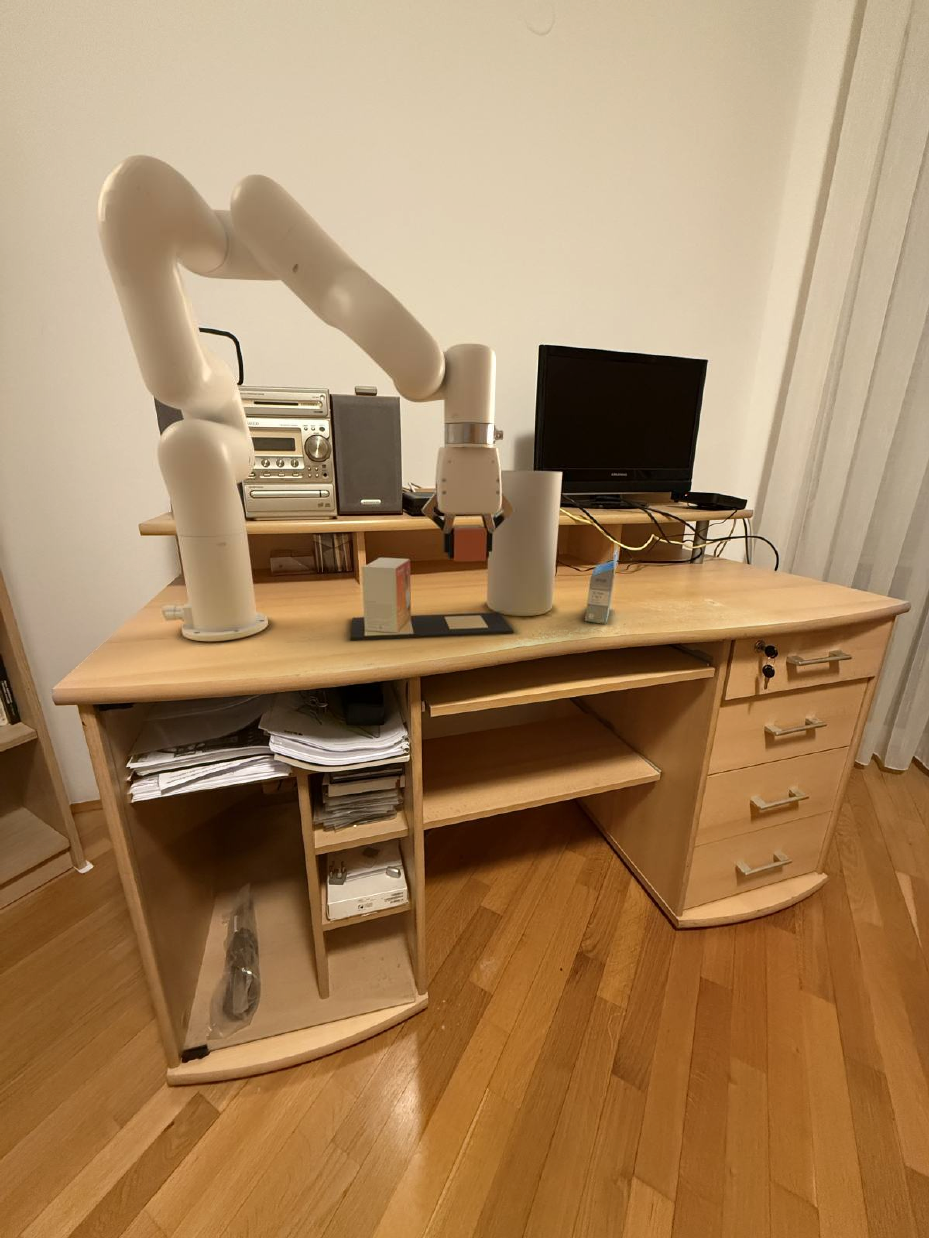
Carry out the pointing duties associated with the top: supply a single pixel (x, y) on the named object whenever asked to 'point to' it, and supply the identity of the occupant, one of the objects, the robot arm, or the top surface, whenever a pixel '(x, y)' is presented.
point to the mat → (437, 626)
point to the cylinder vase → (525, 544)
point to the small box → (386, 594)
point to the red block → (469, 542)
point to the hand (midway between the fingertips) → (467, 555)
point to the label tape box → (601, 591)
